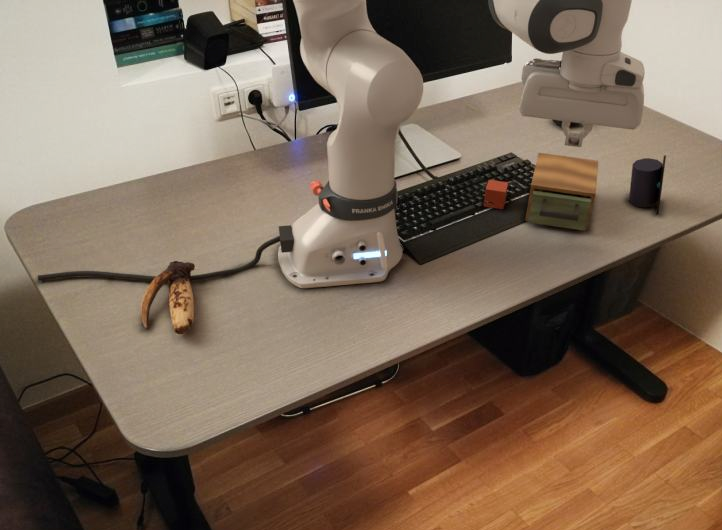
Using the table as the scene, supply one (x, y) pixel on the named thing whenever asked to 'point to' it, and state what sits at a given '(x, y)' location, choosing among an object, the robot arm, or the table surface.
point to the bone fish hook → (173, 295)
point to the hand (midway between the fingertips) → (572, 145)
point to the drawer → (559, 209)
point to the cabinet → (565, 177)
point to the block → (496, 194)
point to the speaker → (646, 182)
